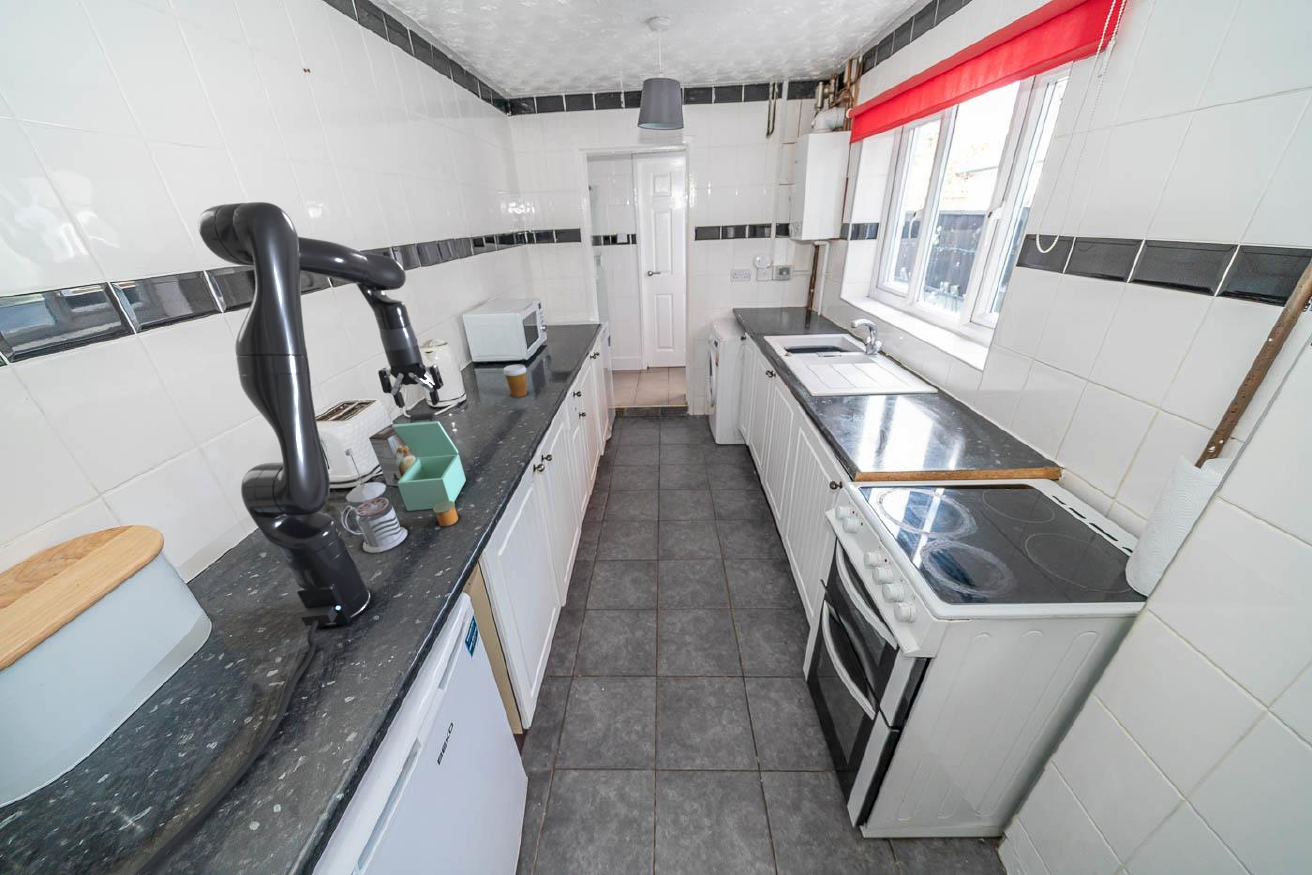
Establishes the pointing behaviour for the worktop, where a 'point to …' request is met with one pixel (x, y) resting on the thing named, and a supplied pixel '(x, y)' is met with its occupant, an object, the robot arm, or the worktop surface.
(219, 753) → the worktop surface
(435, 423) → the lid
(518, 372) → the disposable coffee cup
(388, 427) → the coffee box
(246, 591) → the worktop surface
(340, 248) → the robot arm
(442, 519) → the cylinder
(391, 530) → the french press
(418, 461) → the mint green open box
